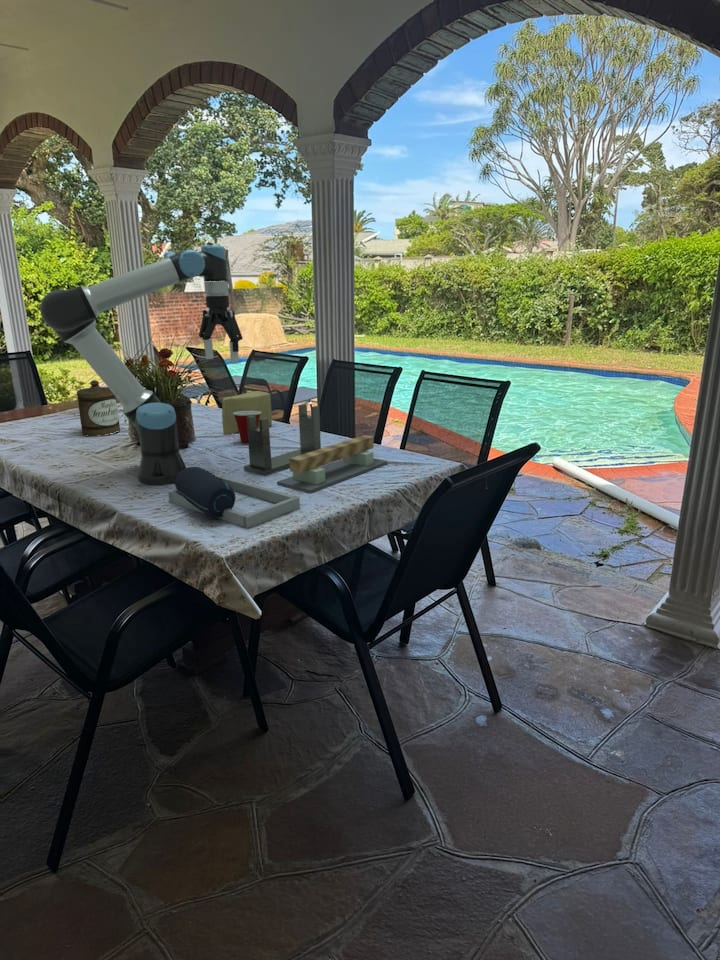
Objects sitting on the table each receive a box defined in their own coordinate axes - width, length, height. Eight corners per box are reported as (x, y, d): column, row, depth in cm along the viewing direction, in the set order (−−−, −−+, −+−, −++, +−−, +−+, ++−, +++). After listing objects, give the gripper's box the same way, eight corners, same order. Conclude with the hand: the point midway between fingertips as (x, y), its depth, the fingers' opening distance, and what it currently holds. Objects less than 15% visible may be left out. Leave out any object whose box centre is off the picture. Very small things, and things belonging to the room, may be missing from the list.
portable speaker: (242, 516, 172) (239, 481, 169) (206, 525, 166) (203, 488, 163) (206, 493, 191) (202, 460, 188) (173, 500, 186) (169, 467, 183)
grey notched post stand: (264, 475, 207) (261, 421, 201) (244, 470, 213) (240, 417, 207) (326, 455, 229) (325, 405, 223) (306, 451, 235) (304, 402, 229)
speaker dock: (247, 528, 164) (247, 517, 163) (169, 501, 185) (168, 491, 184) (299, 507, 178) (299, 497, 177) (221, 484, 199) (220, 475, 198)
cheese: (231, 436, 259) (228, 400, 254) (217, 433, 265) (214, 397, 260) (273, 426, 274) (271, 392, 270) (258, 423, 280) (256, 389, 276)
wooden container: (98, 438, 259) (90, 384, 252) (75, 434, 266) (66, 381, 260) (127, 431, 271) (121, 379, 264) (105, 427, 278) (97, 376, 272)
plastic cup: (266, 438, 254) (264, 408, 251) (259, 445, 244) (257, 414, 240) (239, 438, 255) (237, 408, 252) (231, 445, 245) (229, 414, 241)
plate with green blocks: (310, 493, 189) (309, 477, 188) (277, 484, 198) (276, 469, 196) (387, 464, 217) (387, 449, 216) (355, 457, 226) (355, 443, 224)
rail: (299, 473, 192) (299, 460, 190) (290, 471, 194) (289, 458, 193) (373, 448, 218) (373, 436, 217) (364, 446, 221) (364, 435, 219)
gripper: (250, 295, 206) (254, 361, 212) (203, 294, 221) (208, 356, 228) (231, 295, 200) (236, 364, 207) (184, 295, 216) (190, 358, 222)
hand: (222, 360), depth 217 cm, fingers open, 13 cm apart
